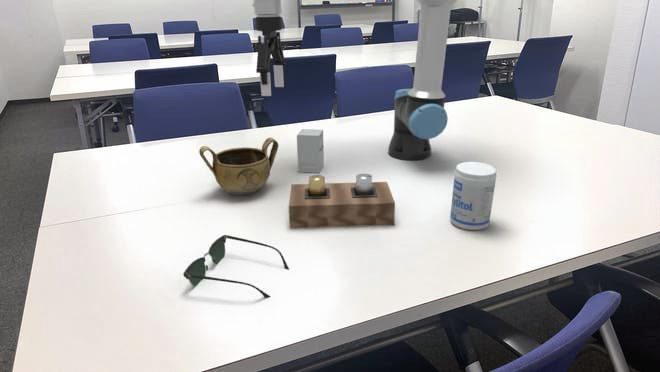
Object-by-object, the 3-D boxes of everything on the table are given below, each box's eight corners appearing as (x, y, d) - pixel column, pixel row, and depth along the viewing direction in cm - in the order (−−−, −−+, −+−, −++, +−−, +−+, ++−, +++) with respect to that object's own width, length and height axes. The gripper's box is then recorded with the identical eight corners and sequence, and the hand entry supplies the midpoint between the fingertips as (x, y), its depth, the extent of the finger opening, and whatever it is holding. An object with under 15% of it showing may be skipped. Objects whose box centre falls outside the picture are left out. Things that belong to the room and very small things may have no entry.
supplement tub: (443, 224, 118) (447, 168, 113) (460, 211, 125) (465, 158, 119) (480, 235, 112) (486, 178, 107) (496, 221, 119) (503, 166, 113)
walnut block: (386, 201, 131) (387, 180, 129) (394, 224, 118) (395, 201, 116) (292, 204, 131) (291, 183, 128) (289, 227, 118) (288, 204, 115)
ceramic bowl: (212, 208, 129) (205, 156, 123) (199, 187, 143) (193, 139, 138) (288, 193, 138) (286, 144, 132) (270, 175, 152) (266, 129, 146)
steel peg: (370, 192, 125) (370, 173, 122) (372, 199, 121) (372, 179, 119) (355, 193, 124) (355, 173, 122) (356, 199, 121) (356, 179, 119)
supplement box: (319, 173, 153) (318, 135, 148) (297, 172, 154) (295, 134, 149) (324, 165, 159) (323, 129, 154) (303, 164, 161) (301, 128, 156)
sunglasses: (263, 308, 89) (261, 285, 87) (184, 294, 93) (180, 272, 91) (294, 263, 103) (293, 242, 101) (224, 252, 108) (222, 233, 106)
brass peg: (325, 194, 124) (324, 174, 122) (325, 200, 121) (324, 180, 119) (309, 194, 124) (309, 175, 122) (309, 200, 121) (308, 180, 118)
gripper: (268, 13, 146) (273, 83, 154) (240, 18, 123) (247, 99, 131) (292, 13, 144) (295, 83, 152) (267, 18, 122) (273, 100, 130)
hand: (273, 91), depth 142 cm, fingers open, 13 cm apart
